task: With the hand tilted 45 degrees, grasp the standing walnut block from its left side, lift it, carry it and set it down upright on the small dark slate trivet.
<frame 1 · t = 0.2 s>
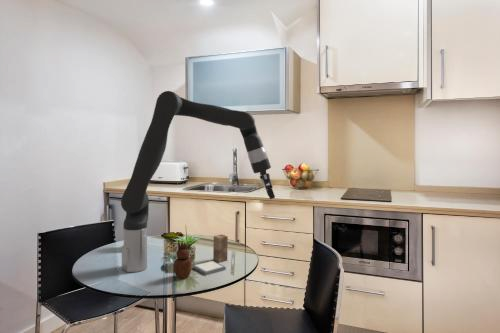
hand: (271, 196, 143), 31 cm above the table, tool tilted 20°, fingers open, 8 cm apart
walnut block: (220, 260, 156), on the table
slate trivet: (209, 268, 145), on the table
wooden figurine: (182, 277, 136), on the table
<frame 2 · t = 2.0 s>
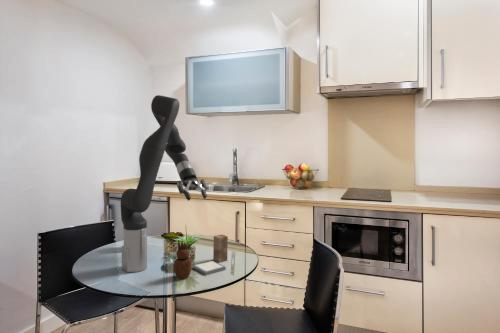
hand: (197, 198, 162), 27 cm above the table, tool tilted 45°, fingers open, 8 cm apart
nothing on the table moved.
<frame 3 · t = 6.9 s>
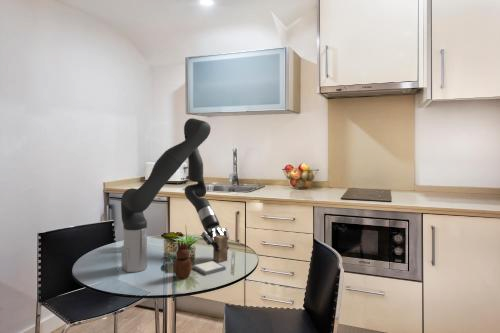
hand: (222, 250, 155), 5 cm above the table, tool tilted 45°, fingers closed on walnut block, 4 cm apart
walnut block: (220, 260, 156), on the table, touching gripper
everything else where it was.
when the fingers open (8 cm above the table, at t = 12.9 s): walnut block drops 1 cm, resting on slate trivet.
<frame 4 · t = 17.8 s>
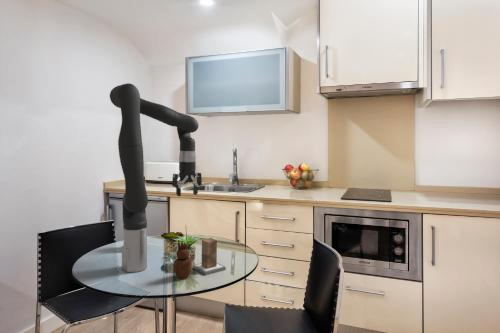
hand: (187, 195, 161), 28 cm above the table, tool pointing down, fingers open, 8 cm apart
walnut block: (209, 265, 145), point 1 cm above the table, touching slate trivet
everything else where it was.
at the end: walnut block inside the target area on the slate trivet (0.0 cm from its centre), point 1.3 cm above the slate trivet's base; walnut block tilted 0°; the gripper is holding nothing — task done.
